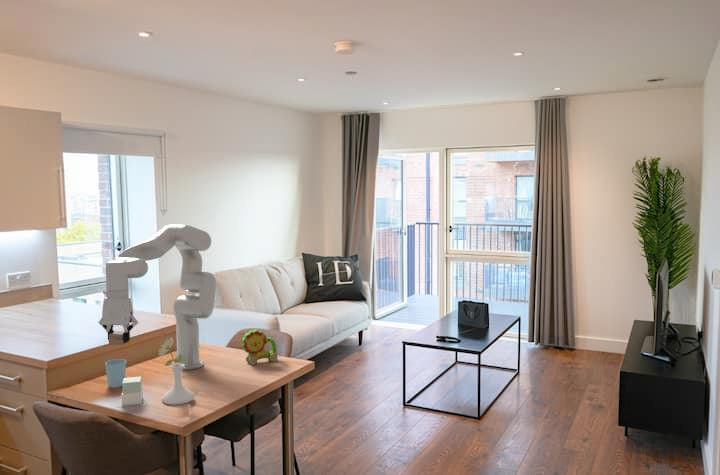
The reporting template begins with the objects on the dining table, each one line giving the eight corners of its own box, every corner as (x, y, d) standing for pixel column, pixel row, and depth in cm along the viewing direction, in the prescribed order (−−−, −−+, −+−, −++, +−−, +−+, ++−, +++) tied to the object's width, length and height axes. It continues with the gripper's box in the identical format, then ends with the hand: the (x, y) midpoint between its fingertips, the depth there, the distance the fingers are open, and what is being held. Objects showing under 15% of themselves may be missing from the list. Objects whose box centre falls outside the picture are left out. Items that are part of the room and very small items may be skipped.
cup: (114, 392, 217) (114, 365, 217) (101, 389, 221) (100, 363, 220) (131, 386, 224) (130, 360, 223) (117, 383, 228) (116, 358, 227)
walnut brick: (115, 341, 213) (115, 330, 213) (128, 341, 213) (128, 330, 212) (109, 344, 208) (108, 334, 208) (122, 344, 208) (122, 334, 208)
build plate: (119, 400, 209) (119, 397, 209) (148, 397, 212) (148, 395, 212) (115, 410, 200) (115, 407, 199) (145, 407, 202) (145, 404, 202)
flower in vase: (181, 394, 216) (179, 330, 214) (200, 400, 209) (199, 334, 207) (151, 404, 205) (149, 337, 203) (171, 412, 198) (169, 342, 196)
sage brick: (124, 388, 207) (123, 377, 207) (141, 386, 209) (141, 376, 209) (122, 394, 202) (122, 383, 201) (140, 392, 204) (140, 381, 203)
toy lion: (273, 358, 263) (273, 326, 261) (278, 361, 258) (277, 328, 257) (240, 363, 255) (240, 330, 253) (244, 366, 250) (244, 332, 249)
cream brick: (124, 399, 208) (123, 388, 208) (142, 397, 210) (142, 386, 209) (121, 405, 202) (121, 394, 201) (141, 403, 203) (140, 392, 203)
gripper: (89, 295, 206) (91, 344, 207) (135, 296, 205) (136, 345, 206) (100, 291, 213) (102, 338, 215) (144, 292, 212) (145, 339, 214)
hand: (119, 341), depth 210 cm, fingers closed on walnut brick, 5 cm apart
